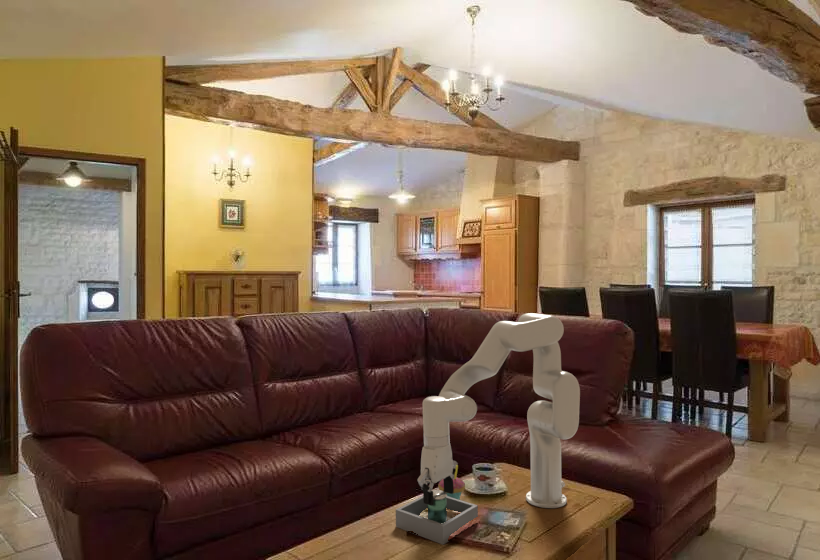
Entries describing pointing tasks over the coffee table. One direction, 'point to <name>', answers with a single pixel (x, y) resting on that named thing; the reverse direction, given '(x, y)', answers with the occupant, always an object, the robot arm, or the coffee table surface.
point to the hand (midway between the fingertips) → (438, 498)
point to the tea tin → (438, 507)
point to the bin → (430, 529)
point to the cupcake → (457, 484)
